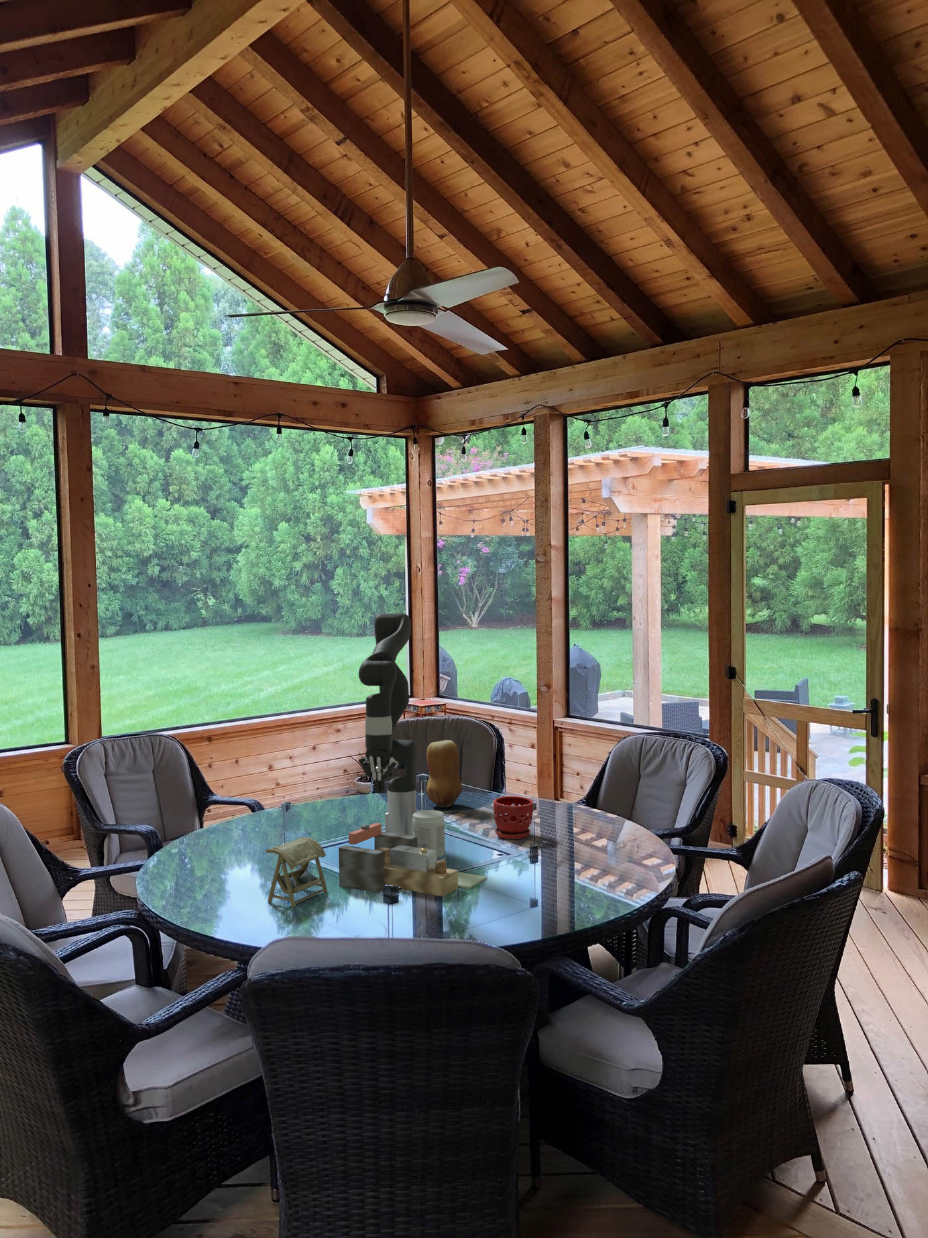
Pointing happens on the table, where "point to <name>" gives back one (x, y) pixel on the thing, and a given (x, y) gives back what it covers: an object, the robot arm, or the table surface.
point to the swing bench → (301, 878)
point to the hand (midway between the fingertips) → (379, 792)
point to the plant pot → (513, 816)
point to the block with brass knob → (412, 858)
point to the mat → (469, 880)
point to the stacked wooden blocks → (391, 868)
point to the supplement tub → (430, 831)
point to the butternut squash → (443, 773)
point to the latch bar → (364, 833)
